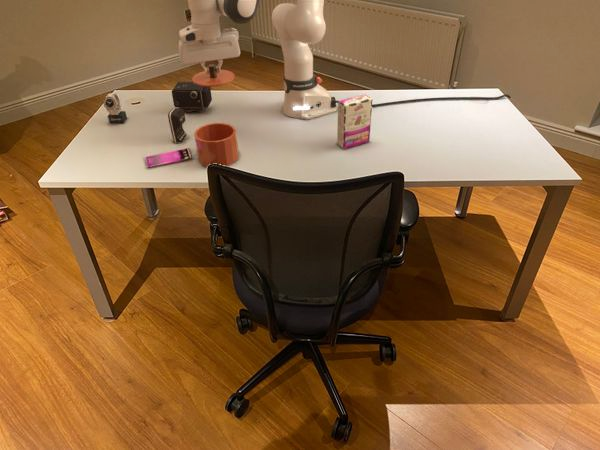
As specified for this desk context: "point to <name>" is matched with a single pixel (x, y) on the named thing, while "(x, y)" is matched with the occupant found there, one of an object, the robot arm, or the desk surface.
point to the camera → (191, 96)
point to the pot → (216, 144)
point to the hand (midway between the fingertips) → (212, 73)
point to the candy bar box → (354, 121)
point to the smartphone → (168, 157)
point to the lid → (213, 77)
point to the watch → (114, 109)
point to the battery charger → (177, 124)
